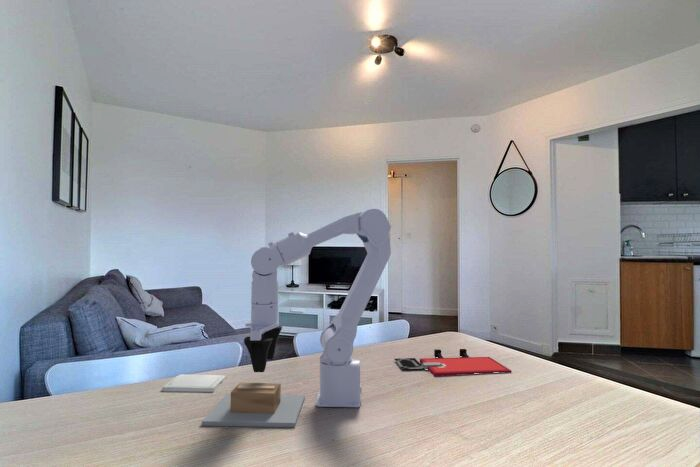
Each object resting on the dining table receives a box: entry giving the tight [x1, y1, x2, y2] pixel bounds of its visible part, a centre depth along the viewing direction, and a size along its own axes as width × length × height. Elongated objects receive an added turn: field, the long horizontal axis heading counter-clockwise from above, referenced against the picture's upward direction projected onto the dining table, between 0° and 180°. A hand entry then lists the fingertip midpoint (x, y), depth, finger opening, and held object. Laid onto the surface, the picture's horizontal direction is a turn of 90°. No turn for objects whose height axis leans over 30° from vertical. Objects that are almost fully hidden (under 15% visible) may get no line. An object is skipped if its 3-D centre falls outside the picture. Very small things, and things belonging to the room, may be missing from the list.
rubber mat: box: [201, 393, 306, 428], centre depth 71 cm, size 18×12×1 cm, turn 89°
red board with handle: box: [394, 348, 512, 377], centre depth 99 cm, size 30×3×15 cm
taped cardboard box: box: [230, 382, 282, 414], centre depth 71 cm, size 5×9×4 cm, turn 88°
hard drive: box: [161, 373, 228, 393], centre depth 84 cm, size 2×8×12 cm
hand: (263, 365), depth 74 cm, fingers open, 7 cm apart
